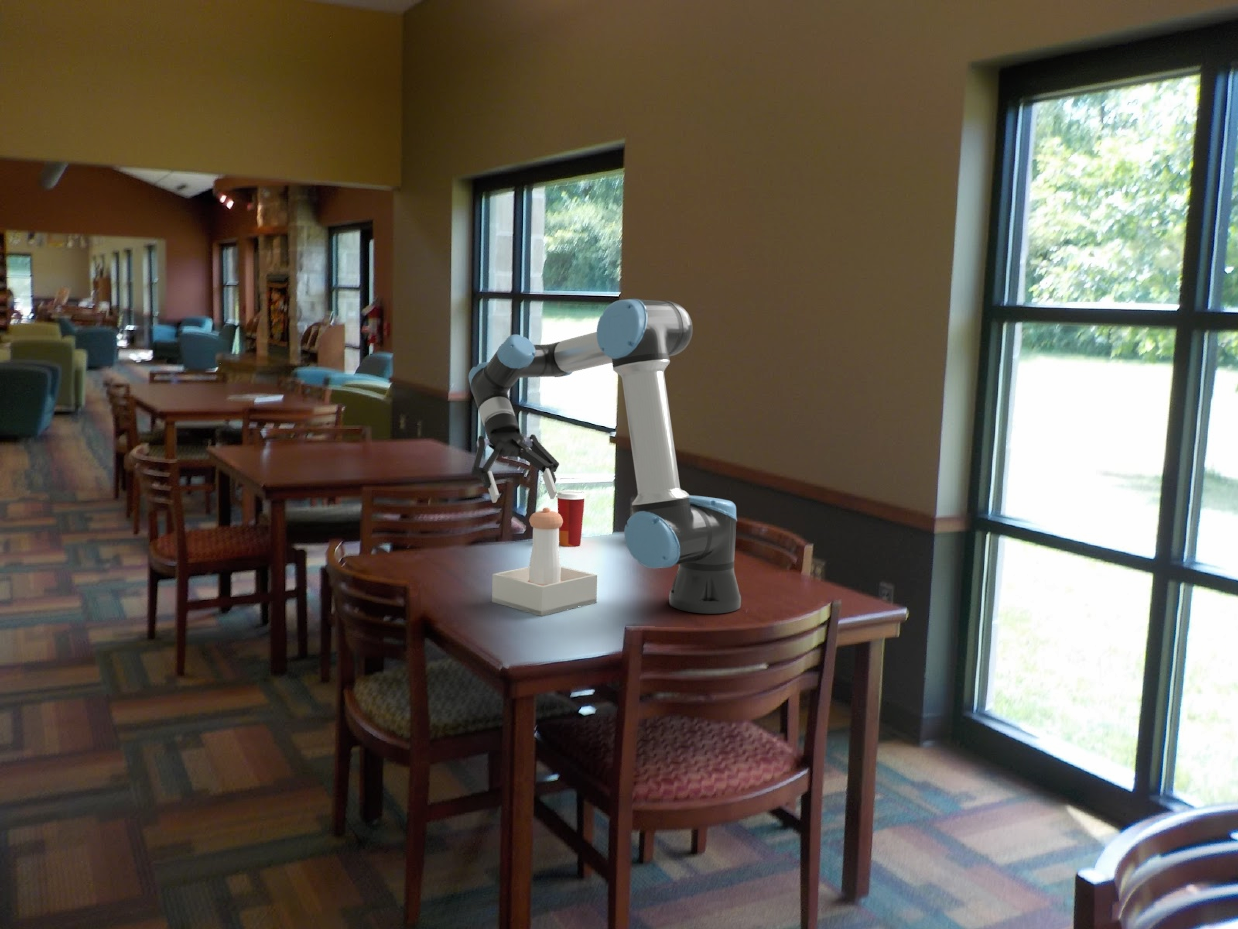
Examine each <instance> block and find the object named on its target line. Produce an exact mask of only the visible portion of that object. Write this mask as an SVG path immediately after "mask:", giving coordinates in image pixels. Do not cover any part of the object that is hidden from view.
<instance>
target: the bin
mask: <svg viewBox="0 0 1238 929" xmlns="http://www.w3.org/2000/svg"><path fill="white" fill-rule="evenodd" d="M491 580H492V584H491V585H492V589H491V595H492V596H491V602H492V603H495V604H498V605H502V606H505V607H509V608H510V609H515V610H519V611H521V612H526V613H530V614H532V613H533V614H532V615H536V616H539V617H545V616H548V615H552V613H553V614H556V613H561V612H565V611H568V610H567V609H569V610H572V608H573V609H576V607H577V608H579V607H578V606H581V607H585V606H589V605H592V603H594V604H597V600H598V599H597V598H598V592H597V591H598V574H595V573H591V572H590V573H589V572H586V571H583V570H579V569H574V568H571V567H570V568H569V567H566V566H562V565H561V576H560V580H561V581H562V582H558V583H553V584H549V585H544V586H541V585H538V584H534V583H530V582H528V580H529V566H526V567H520V568H516V569H511V570H510V569H509V570H505V571H500V572H496V573H492V579H491ZM564 610H565V611H564Z"/></svg>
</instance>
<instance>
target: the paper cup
mask: <svg viewBox="0 0 1238 929" xmlns="http://www.w3.org/2000/svg"><path fill="white" fill-rule="evenodd" d="M555 498H556V499H557V513H558V514H560V515H561V517H562V519H563V524H562V526H561V527H559V546H561V547H565V548H567V547H568V548H569V547H570V548H573V547H574V548H575V547H579V546H581V542H582V531H583V530H582V529H583V520H584V510H585V499H586V496H585V492H584V491H582V490H577V489H576V490H575V489H566V490H565V489H564V490H559V491H557V493H556V495H555Z"/></svg>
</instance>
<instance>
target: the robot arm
mask: <svg viewBox="0 0 1238 929" xmlns="http://www.w3.org/2000/svg"><path fill="white" fill-rule="evenodd" d="M691 318H692V317H691V316H690V315H689V312H688V311H686V309H685V308H684V307H683V306H681V304H679V303H676V302H673V301H670V300H653V299H642V298H641V299H639V298H629V299H619V300H616V301H614V302H612V303H610V304H609V305H608V306H607V307H606V308H605V309H604V310H603V313H602V315H600V317H599V319H598V322H597V327H596V331H595V332H591V333H587V334H584V335H580V336H576V337H572V338H568V339H565V340H561V341H557V342H552V343H548V344H547V343H546V344H534V343H533V342H532V341H531V340H530V339H528V338H527V337H526V336H522V335H520V334H510V335H509V336H508V337H507V338H506V339H505V340H504V341H503V343H501V344H500V345H499V347H498V348H497V350H496V351H495V353H494V354H493V356H492V357H491V359H490V360H489V361H485V362H481V363H478V364H476V366H473V367H472V368H471V369H470V370H469V373H468V382H469V387H470V391H471V393H472V395H473V398H474V401H475V405H476V407H477V410H478V413H479V416H480V419H481V422H482V425H483V427H484V431H485V434H486V437H487V438H485V437H484V436H482V435H479V436H478V438H477V441H476V443H475V447H476V453H475V456H474V457H475V458H474V461H473V464H472V467H471V471H470V475H471V476H472V477H476V476H478V480H479V481H481V482H482V486H483V488H484V489H487V490H488V493H489V496H490V500H491V502H492V503H493V504H494V503H497V501H498V499H499V497H500V493H499V490H498V487H497V482H496V481H495V478H494V474H493V472H492V470H490V469H491V468H492V466H493V465H494V464H495V462H496V460H497V459H498V458H499V456H501V457H502V458H505V457H506V458H507V457H512V458H513V457H514V458H515V457H518V458H520V459H521V460H525V461H526V462H527V463H529V464H531V466H534V467H535V468H536V469H537V470H539V471H540V472H542V473H543V474H542V475H541V477H542V479H543V482H544V484H545V487H546V491H547V493H548V496H549V498H550V500H554V499H555V498H556V496H557V493H558V489H557V487H556V481H557V477H556V475H555V473H556V472H557V470H558V467H559V466H560V463H559V462H558V460H557V459H556V458H555V457H554V456H553V455H552V454H551V453H550V452H549V451H548V450H547V449H546V448H545V447H544V446H543V445H542V444H541V443H540V442H539V441H538V438H537V436H536V435H535V434H534V433H532V434H531V435H530V436H529V437H524V436H523V435H522V433H521V428H520V426H519V423H518V420H517V417H516V414H515V412H514V409H513V406H512V403H511V400H510V398H509V394H508V392H509V390H510V389H511V388H512V387H513V386H514V385H515V383H517V381H518V380H519V379H520V378H542V377H543V378H545V377H546V378H548V377H549V378H550V377H552V378H553V377H554V378H561V377H567V376H570V375H571V374H572V373H573V372H577V371H583V370H587V369H590V368H594V367H598V366H603V365H608V364H611V365H612V371H614V372H615V373H616V374H618V375H619V376H620V377H621V380H622V382H621V383H622V388H623V396H624V402H625V410H626V418H627V425H628V431H629V437H630V438H629V439H630V446H631V452H632V453H631V454H632V460H633V461H632V462H633V467H634V468H633V469H634V475H635V481H636V489H637V495H636V497H635V499H634V500H633V501H632V502H631V506H632V507H631V508H632V515H630V517H629V518H628V520H627V521H626V522H627V524H625V526H624V530H623V532H624V534H623V535H624V542H625V545H626V548H627V550H628V552H629V554H630V555H631V556H632V558H633V559H634V560H636V561H637V563H638V564H640V565H641V566H643V567H645V568H649V569H660V568H661V569H664V568H665V569H666V568H672V567H673V566H675V565H678V569H677V571H676V575H675V577H674V579H673V582H672V584H671V589H670V591H669V598H668V599H669V601H668V603H669V605H670V606H671V607H673V608H674V609H677V610H680V611H684V612H689V613H697V614H708V615H710V614H714V615H716V614H726V613H733V612H735V611H738V610H739V609H741V606H742V605H741V604H742V603H741V602H742V595H741V593H740V591H739V585H738V583H737V582H738V581H737V578H736V573H735V552H736V551H735V550H736V533H737V532H736V529H737V522H738V518H737V506H736V504H735V503H734V502H733V501H731V500H728V499H723V498H718V497H717V498H715V497H710V496H709V497H708V496H701V495H690V494H689V495H687V494H686V493H685V492H683V491H684V490H683V489H682V488H681V485H680V479H679V478H680V477H679V471H678V463H677V455H676V450H675V443H674V434H673V428H672V427H673V426H672V421H671V415H670V412H671V411H670V406H669V399H668V391H667V386H666V378H665V371H666V369H667V368H668V365H670V363H671V360H670V359H671V358H670V357H672V356H676V355H678V354H680V353H681V352H683V351H684V350H685V349H686V348H687V346H689V344H690V342H691V340H692V336H693V331H694V330H693V329H694V328H693V327H694V326H693V321H692V319H691ZM487 446H488V447H489V448H490V449H492V450H493V451H492V452H491V454H490V455H489V457H488V459H487V460H486V462H485V463H484V464H483V466H482V467H480V465H481V461H482V458H483V454H484V451H485V449H486V448H487ZM521 450H522V451H521ZM682 490H683V491H682Z"/></svg>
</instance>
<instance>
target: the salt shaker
mask: <svg viewBox="0 0 1238 929" xmlns="http://www.w3.org/2000/svg"><path fill="white" fill-rule="evenodd" d="M528 521H529V523H530V524H529V525H530V526H531V527H532V547H531V552H530V553H531V554H530V557H529V563H528V564H529V566H528V567H529V580H528V582H530V583H534V584H538V585H541V586H544V585H549V584H553V583H558V582H562V581H561V580H560V576H561V566H562V563H561V557H560V556H561V555H560V550H559V549H560V547H559V546H560V545H559V527H561V526H562V524H563V519H562V517H561V515H560V514H558V512H556V511H553V510H551V509H550V507H543V508H542V510H538V511H535V512H534V513H532V514H531V515H530V517H529V519H528Z"/></svg>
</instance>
